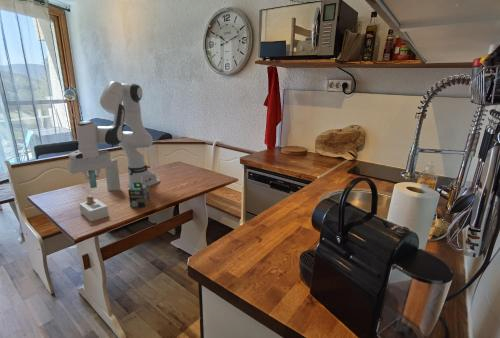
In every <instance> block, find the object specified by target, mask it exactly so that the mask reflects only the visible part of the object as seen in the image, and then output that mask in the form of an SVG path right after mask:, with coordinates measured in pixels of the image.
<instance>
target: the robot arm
mask: <svg viewBox="0 0 500 338" xmlns="http://www.w3.org/2000/svg"><path fill="white" fill-rule="evenodd" d="M142 98H143V90H142V87H141V86H140V85H139V84H136V83H127V82H125V83H124V82H121V83H120V82H119V81H115V80H113V81H110V82H108V84H107V85H106V86H105V88H104V89H103V91H102V93H101V95H100V98H99V103H100V106H101V107H102V109H103V110H105V111H106V112H107V113H109V114H112V115H114V116H113V121H112V123H113V124H112V125H109V126H108V125H107V126H105V125H97V124H95V122H94V121H92V120H80V121H79V122H77V123H76V129H75V130H76V140H77V143H78V146H77V147H78V149H77V150H74V151H72V152H69V153H68V157H69V158H68V160H67V171H68V172H69V174H72V175H75V174H79V173H82V174H83V175H84V176H85V179H86V180H89V179H90V176H89V174H88V171H92V170H95V176H96V179H97V178H99V177H100V173H101V170H103V169H105V168H108V167H111V166H112V162H111V159H112V158H111V152H110V151H108V150H99V144H101V145H110V146H117V145H118V146H119V147H120V148H122V150H123V152H124V153H125V155H126V158H127V159H126V160H127V172H128V183H127V186H128V187H129V188H131V187H132V186H133V185H134V183H142V185H148V187H150V186H152V185H156V184H157V183H160V182H161V180H160V179H159V178H158V177H157V175H156V173H155V172H153V171H152V170H149V169H150V168H151V165H148V164H146V163H145V155H144V153H142V152H141V151H139V149H144V148H150V147H151V146H152V145H153V142H154V139H153V136H152V134H151V133H149V132H148V131H147V129H146V128H145V127H144V125H143V121H142V120H143V119H142V112H141V111H142V110H141V109H142V108H141V104H140V101H141V99H142ZM124 124H125V125H126V126H127V127H129V129H131V131H129V130H128V131H127V130H125V131H124V129H123V128H124ZM138 148H139V149H138ZM136 185H139V184H136Z"/></svg>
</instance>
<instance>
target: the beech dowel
mask: <svg viewBox="0 0 500 338" xmlns="http://www.w3.org/2000/svg"><path fill="white" fill-rule="evenodd" d="M93 200H94V196H93V195H87V196H86V202H87V203H88V205H92V204H94V201H93Z"/></svg>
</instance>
